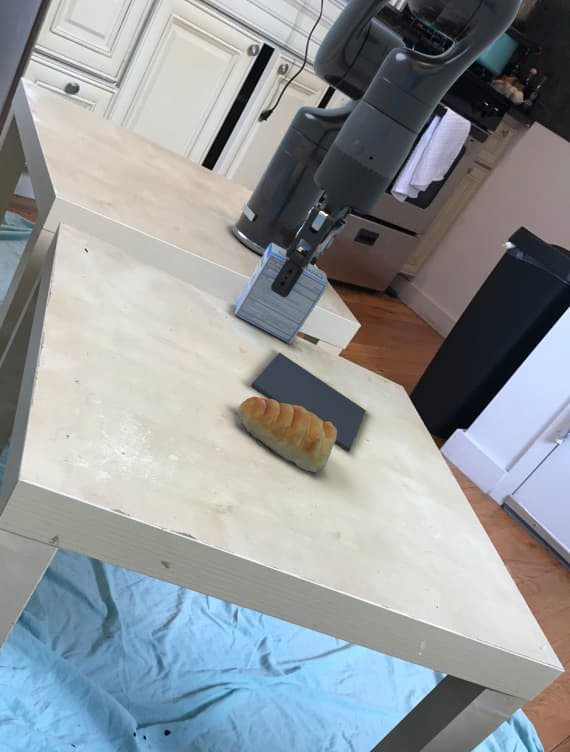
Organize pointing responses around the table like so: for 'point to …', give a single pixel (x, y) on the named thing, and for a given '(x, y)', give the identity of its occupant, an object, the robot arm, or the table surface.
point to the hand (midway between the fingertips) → (286, 286)
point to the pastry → (289, 431)
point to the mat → (310, 397)
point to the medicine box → (270, 307)
